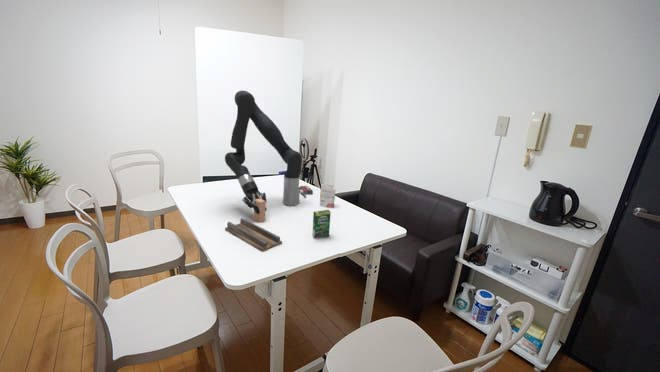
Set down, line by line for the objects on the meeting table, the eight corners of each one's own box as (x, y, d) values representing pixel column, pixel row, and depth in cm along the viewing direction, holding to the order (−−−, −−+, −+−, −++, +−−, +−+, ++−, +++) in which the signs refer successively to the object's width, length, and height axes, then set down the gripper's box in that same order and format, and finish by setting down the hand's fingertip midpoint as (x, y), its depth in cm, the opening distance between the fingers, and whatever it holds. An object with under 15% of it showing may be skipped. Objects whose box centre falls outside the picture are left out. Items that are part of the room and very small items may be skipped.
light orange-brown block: (259, 217, 156) (259, 198, 153) (265, 220, 153) (265, 200, 150) (253, 219, 153) (253, 199, 150) (259, 222, 150) (260, 202, 147)
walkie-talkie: (295, 189, 210) (304, 198, 192) (296, 183, 209) (304, 192, 191) (307, 189, 213) (316, 198, 196) (307, 183, 212) (317, 192, 194)
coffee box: (313, 238, 138) (315, 213, 134) (311, 236, 140) (313, 210, 137) (329, 236, 141) (331, 211, 138) (326, 234, 144) (329, 209, 140)
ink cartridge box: (334, 205, 184) (336, 183, 179) (332, 208, 179) (334, 185, 175) (321, 203, 185) (323, 181, 181) (319, 206, 181) (320, 183, 176)
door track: (244, 223, 147) (244, 217, 146) (282, 243, 131) (282, 236, 130) (225, 229, 139) (224, 223, 138) (262, 251, 123) (262, 244, 122)
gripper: (239, 182, 147) (254, 212, 143) (261, 178, 157) (276, 206, 154) (233, 190, 151) (247, 219, 147) (255, 185, 162) (269, 212, 158)
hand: (262, 212), depth 151 cm, fingers closed on light orange-brown block, 3 cm apart
